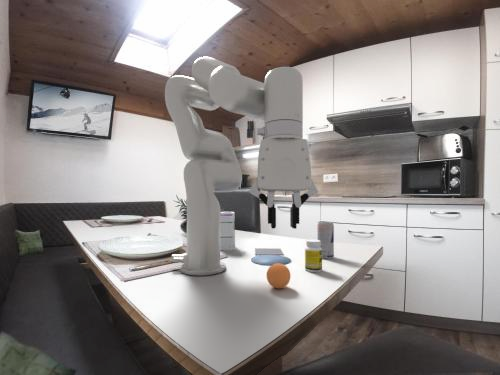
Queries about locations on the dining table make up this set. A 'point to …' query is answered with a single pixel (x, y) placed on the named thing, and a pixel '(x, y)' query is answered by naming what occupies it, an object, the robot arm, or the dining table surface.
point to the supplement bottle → (313, 256)
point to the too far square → (268, 251)
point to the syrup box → (227, 230)
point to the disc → (270, 259)
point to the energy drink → (326, 239)
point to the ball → (278, 275)
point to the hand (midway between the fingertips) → (283, 226)
